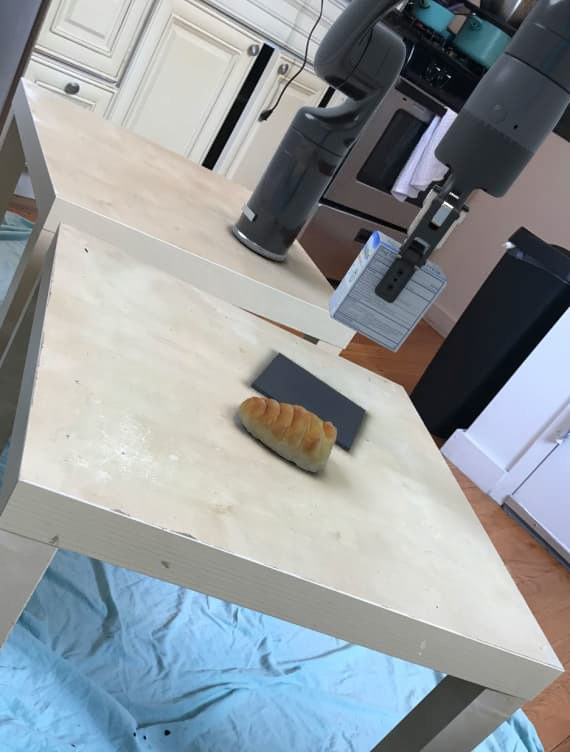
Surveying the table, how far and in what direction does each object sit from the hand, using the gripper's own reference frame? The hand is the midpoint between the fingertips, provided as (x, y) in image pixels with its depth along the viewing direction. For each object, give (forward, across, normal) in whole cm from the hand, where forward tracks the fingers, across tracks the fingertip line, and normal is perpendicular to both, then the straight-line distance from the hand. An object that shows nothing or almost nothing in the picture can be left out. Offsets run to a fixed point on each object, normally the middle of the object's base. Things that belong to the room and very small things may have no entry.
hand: (386, 291), depth 74 cm
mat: (+14, 0, 0) cm, 14 cm away
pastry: (+14, -13, 0) cm, 19 cm away
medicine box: (+5, 0, 0) cm, 5 cm away
